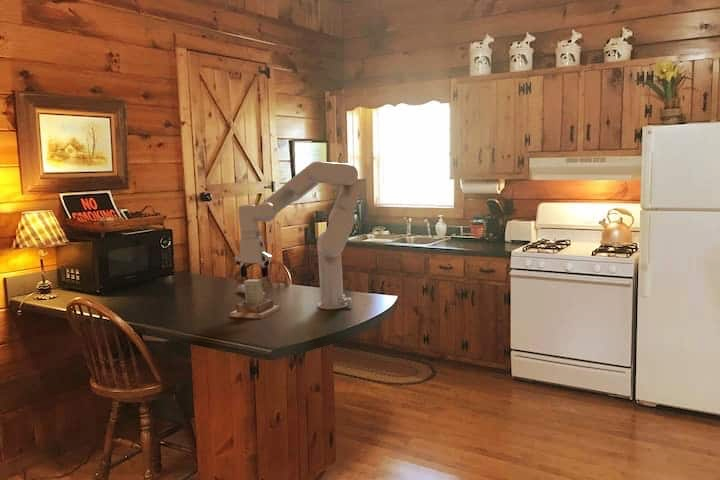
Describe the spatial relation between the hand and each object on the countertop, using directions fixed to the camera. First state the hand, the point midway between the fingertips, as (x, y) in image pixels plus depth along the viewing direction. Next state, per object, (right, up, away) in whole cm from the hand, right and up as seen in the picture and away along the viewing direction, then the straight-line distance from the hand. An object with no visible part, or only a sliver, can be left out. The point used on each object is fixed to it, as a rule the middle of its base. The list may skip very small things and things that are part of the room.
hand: (254, 276), depth 246 cm
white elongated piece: (-8, -12, +35) cm, 38 cm away
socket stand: (0, -15, +2) cm, 15 cm away
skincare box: (0, -14, +2) cm, 14 cm away
